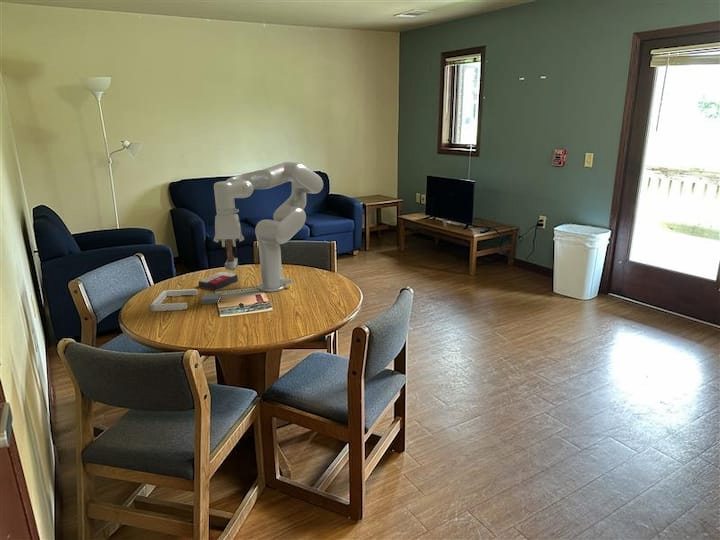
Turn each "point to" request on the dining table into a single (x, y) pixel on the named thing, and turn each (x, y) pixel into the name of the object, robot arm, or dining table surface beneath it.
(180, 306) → the bay
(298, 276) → the dining table surface
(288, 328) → the dining table surface
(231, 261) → the scraper
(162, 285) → the dining table surface
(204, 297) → the tile
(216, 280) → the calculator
